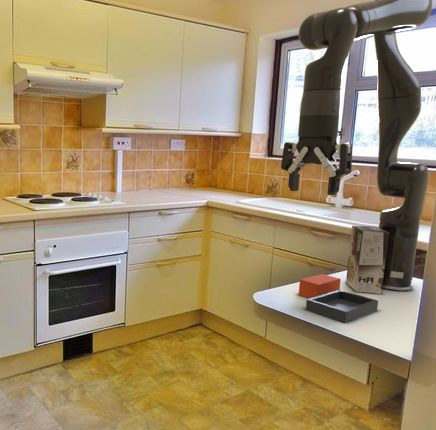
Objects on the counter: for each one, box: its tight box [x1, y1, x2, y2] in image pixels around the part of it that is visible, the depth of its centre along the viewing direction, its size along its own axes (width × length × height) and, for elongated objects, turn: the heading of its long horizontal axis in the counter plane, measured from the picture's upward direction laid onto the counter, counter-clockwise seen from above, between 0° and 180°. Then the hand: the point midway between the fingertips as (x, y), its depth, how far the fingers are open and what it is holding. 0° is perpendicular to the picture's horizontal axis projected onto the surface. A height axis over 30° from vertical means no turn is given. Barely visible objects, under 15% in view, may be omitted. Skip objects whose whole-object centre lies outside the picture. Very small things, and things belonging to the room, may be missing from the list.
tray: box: [305, 289, 379, 324], centre depth 104 cm, size 14×9×2 cm, turn 126°
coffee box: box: [345, 225, 389, 295], centre depth 120 cm, size 9×6×16 cm
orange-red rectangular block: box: [298, 273, 342, 299], centre depth 114 cm, size 10×5×4 cm, turn 126°
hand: (312, 192), depth 96 cm, fingers open, 8 cm apart
